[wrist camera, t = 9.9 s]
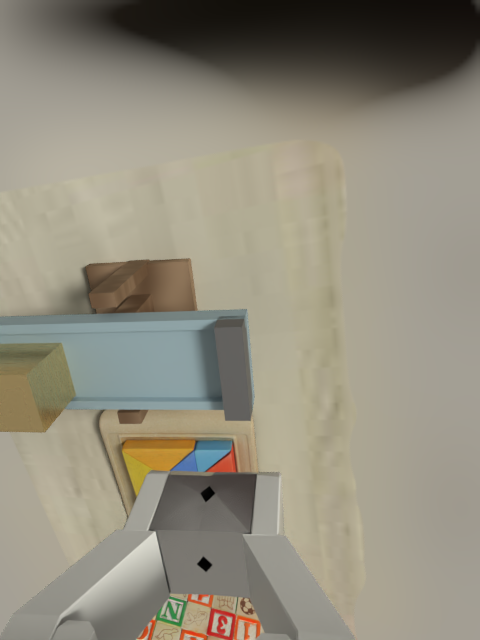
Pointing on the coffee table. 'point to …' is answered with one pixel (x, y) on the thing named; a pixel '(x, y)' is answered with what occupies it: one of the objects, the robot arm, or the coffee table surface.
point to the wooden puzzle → (175, 446)
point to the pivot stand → (141, 295)
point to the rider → (33, 386)
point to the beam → (150, 358)
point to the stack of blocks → (204, 619)
